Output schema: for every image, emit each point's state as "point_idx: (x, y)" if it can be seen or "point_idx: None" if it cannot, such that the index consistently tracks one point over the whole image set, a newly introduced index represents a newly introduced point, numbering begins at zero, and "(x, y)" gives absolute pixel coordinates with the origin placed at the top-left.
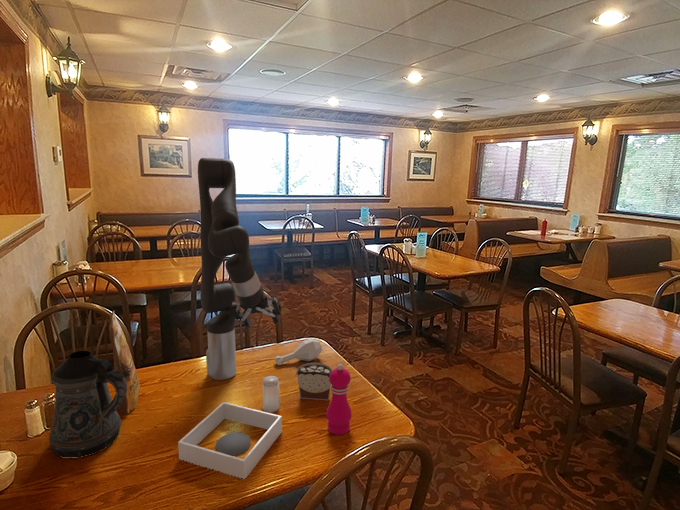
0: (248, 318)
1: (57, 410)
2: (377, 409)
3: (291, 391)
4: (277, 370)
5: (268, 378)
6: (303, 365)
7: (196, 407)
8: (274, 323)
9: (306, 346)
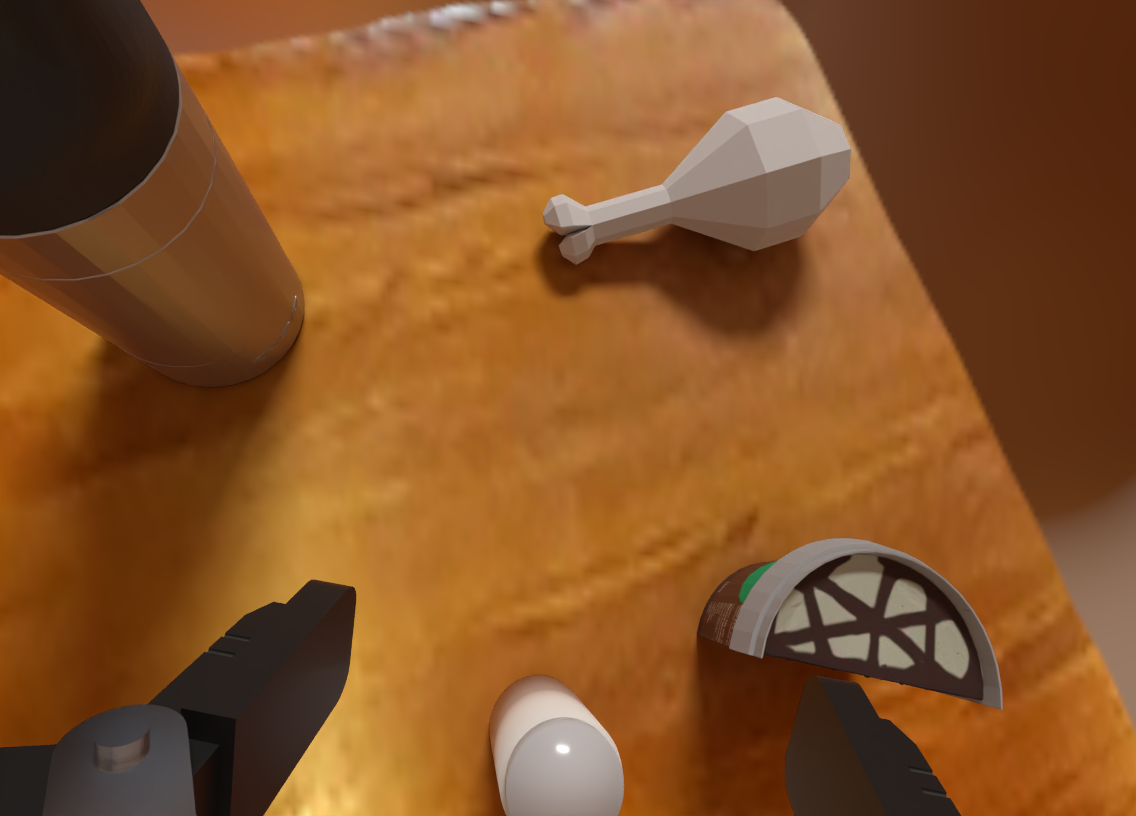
0: (270, 722)
1: None
2: (1084, 770)
3: (647, 556)
4: (559, 310)
5: (548, 768)
6: (799, 579)
7: (60, 702)
8: (802, 813)
9: (769, 190)
